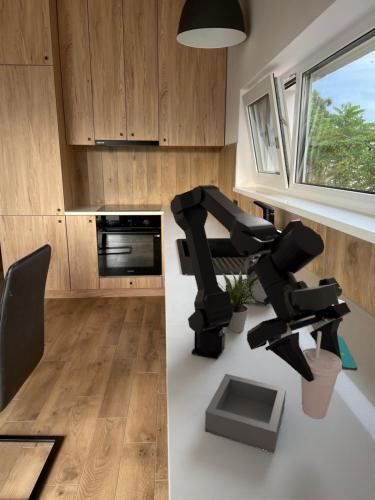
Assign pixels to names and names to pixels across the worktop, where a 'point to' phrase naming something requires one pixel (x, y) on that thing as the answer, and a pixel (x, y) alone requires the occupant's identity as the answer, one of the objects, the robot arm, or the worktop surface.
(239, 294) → the house plant
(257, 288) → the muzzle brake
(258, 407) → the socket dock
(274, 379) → the worktop surface
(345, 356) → the smartphone
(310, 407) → the smoothie
